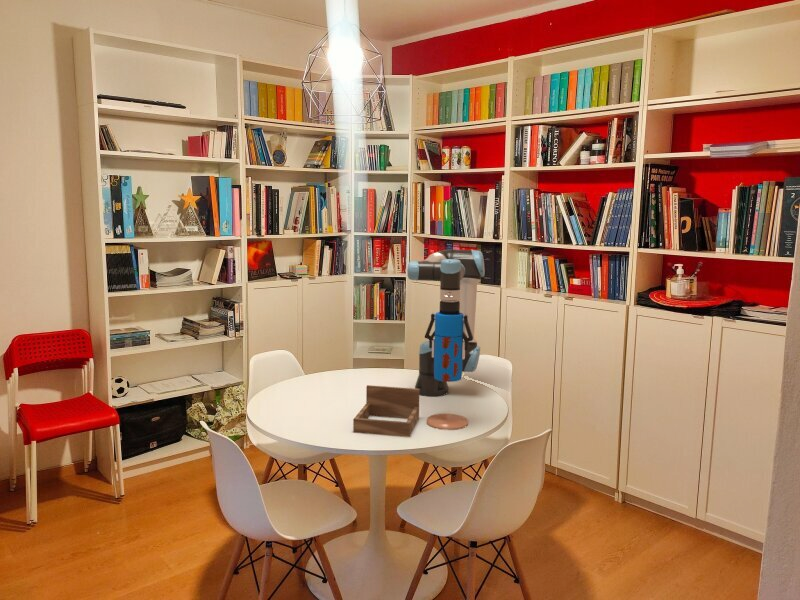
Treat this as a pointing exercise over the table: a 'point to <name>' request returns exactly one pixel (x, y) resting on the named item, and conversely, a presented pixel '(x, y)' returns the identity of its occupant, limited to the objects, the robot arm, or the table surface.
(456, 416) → the terracotta disc
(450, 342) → the thermos
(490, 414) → the table surface
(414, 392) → the frame
